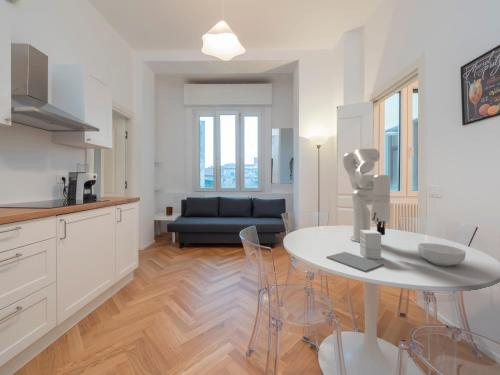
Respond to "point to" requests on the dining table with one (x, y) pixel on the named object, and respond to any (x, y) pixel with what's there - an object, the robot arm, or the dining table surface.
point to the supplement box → (370, 244)
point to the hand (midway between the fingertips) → (380, 234)
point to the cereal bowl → (441, 254)
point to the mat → (355, 261)
